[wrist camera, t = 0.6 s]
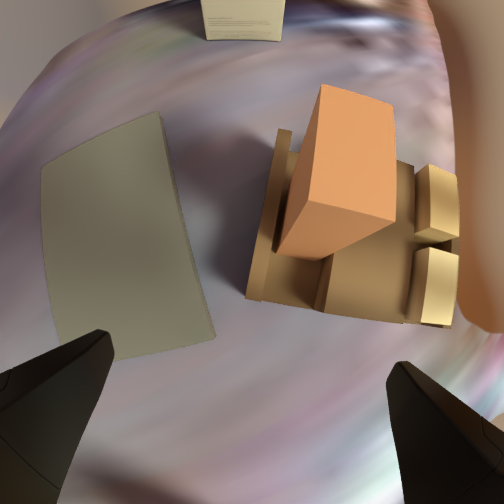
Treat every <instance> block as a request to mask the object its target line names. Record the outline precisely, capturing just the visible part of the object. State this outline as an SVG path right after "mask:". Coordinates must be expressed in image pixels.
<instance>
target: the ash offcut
mask: <svg viewBox="0 0 504 504" xmlns="http://www.w3.org/2000/svg"><path fill="white" fill-rule="evenodd" d="M458 259H459V255H455V254H452V253H448V252H445V251H442V250H438V249H435V248H431V247H428V248H425V249H421V250H418V251H414V252H413V254H412V265H411V275H410V283H409V290H408V297H407V304H406V310H405V316H404V320H410V321H416V322H423V323H432V324H442V325H451V322H452V316H453V309H454V302H455V294H456V285H457V274H458Z"/></svg>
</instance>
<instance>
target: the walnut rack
mask: <svg viewBox="0 0 504 504" xmlns="http://www.w3.org/2000/svg"><path fill="white" fill-rule="evenodd" d="M291 135H292V131H289V130H283V129H278V133H277V138H276V143H275V148H274V154H273V159H272V164H271V169H270V174H269V179H268V184H267V189H266V194H265V199H264V204H263V209H262V214H261V219H260V224H259V229H258V234H257V239H256V244H255V249H254V254H253V259H252V264H251V269H250V275H249V280H248V285H247V290H246V295H245V299H249V300H254V301H260V302H261V300H262V301H267V302H273V303H278V304H284V305H289V306H295V307H300V308H306V309H312V310H316V311H319V312H323V313H328V314H334V315H341V316H347V317H354V318H361V319H368V320H375V321H383V322H391V323H399V324H403V323H410V324H419V325H426V326H432V327H438V328H446V329H451V326H452V322H451V325H442V324H432V323H423V322H416V321H410V320H404V316H405V310H406V304H407V297H408V290H409V283H410V275H411V265H412V254H413V252H414V251H418V250H421V249H425V248H428V247H431V248H435V249H438V250H442V251H445V252H448V253H452V254H455V255H460V207H459V237H456V238H453V239H450V240H447V241H443V242H440V243H437V244H433V245H430V246H424V245H421V244H417V243H413V241H414V220H415V179H414V166H412V165H410V164H407V163H404V162H401V161H399V160H396V171H397V190H396V220H395V222H394V223H392V224H390V225H388V226H386V227H384V228H382V229H381V230H379V231H377V232H375V233H373V234H371V235H369V236H367V237H365V238H363V239H361V240H359V241H357V242H355V243H353V244H351V245H349V246H347V247H345V248H342V249H340V250H338V251H336V252H334V253H332V254H330V255H328V256H326V257H324V258H322V259H320V260H318V261H316V262H315V261H310V260H305V259H300V258H295V257H290V256H285V255H280V254H276V250H277V244H278V239H279V233H280V228H281V222H282V217H283V211H284V206H285V200H286V194H287V189H288V186H289V183H290V180H291V177H292V174H293V171H294V168H295V165H296V162H297V159H298V156H299V153H296V152H291V151H289V147H290V141H291ZM457 189H458V184H457ZM458 205H459V191H458ZM458 271H459V259H458ZM457 283H458V274H457ZM456 293H457V285H456ZM455 301H456V294H455ZM454 308H455V302H454ZM453 315H454V309H453ZM452 321H453V316H452Z"/></svg>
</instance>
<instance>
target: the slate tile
mask: <svg viewBox="0 0 504 504" xmlns="http://www.w3.org/2000/svg"><path fill="white" fill-rule="evenodd" d="M40 201H41V232H42V245H43V255H44V264H45V272H46V279H47V285H48V291H49V297H50V302H51V307H52V312H53V316H54V320H55V325H56V329H57V333H58V336H59V340H60V344H61V345H64V344H66V343H68V342H70V341H72V340H74V339H77V338H79V337H81V336H83V335H85V334H87V333H90V332H92V331H94V330H96V329H101V330H105V331H108V332H109V333H110V335H111V339H112V343H113V347H114V351H115V355H114V359H113V361H117V360H123V359H128V358H134V357H139V356H144V355H149V354H153V353H158V352H163V351H167V350H172V349H176V348H180V347H185V346H189V345H193V344H197V343H201V342H205V341H209V340H213V339H214V338H215V337H216V333H215V330H214V327H213V324H212V320H211V317H210V314H209V311H208V307H207V304H206V301H205V297H204V294H203V290H202V287H201V283H200V280H199V276H198V273H197V269H196V265H195V262H194V258H193V254H192V250H191V246H190V243H189V239H188V235H187V231H186V227H185V223H184V219H183V214H182V210H181V206H180V202H179V197H178V193H177V188H176V184H175V179H174V175H173V170H172V165H171V160H170V155H169V150H168V145H167V140H166V135H165V129H164V124H163V119H162V117H161V115H160V113H159V111H156V112H154V113H151V114H148V115H146V116H143V117H141V118H138V119H136V120H133V121H131V122H128V123H126V124H124V125H121V126H119V127H117V128H115V129H112V130H110V131H108V132H106V133H104V134H102V135H99V136H97V137H95V138H93V139H91V140H89V141H87V142H85V143H83V144H82V145H80V146H78V147H76V148H74V149H72V150H70V151H69V152H67V153H65V154H63V155H61V156H60V157H58V158H56V159H55V160H53V161H51V162H50V163H48V164H46V165H45V166H43V167H42V168H41V197H40Z"/></svg>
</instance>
